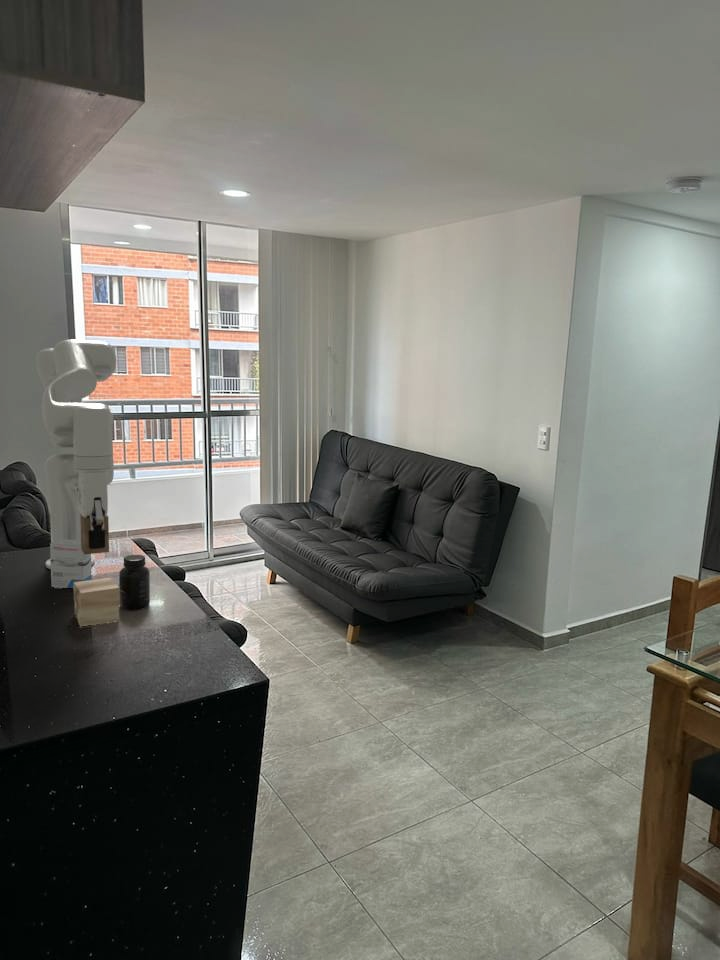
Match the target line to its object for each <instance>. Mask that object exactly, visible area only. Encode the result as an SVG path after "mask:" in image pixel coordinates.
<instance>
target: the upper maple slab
mask: <svg viewBox="0 0 720 960" xmlns="http://www.w3.org/2000/svg"><path fill="white" fill-rule="evenodd" d="M73 584H74V589H73V600H74V603H75V602H76V603H77V605H78V606H79V608H80V609H81V611H83V610H90V609H96V608H103V607H109V606H116V605H118V606H120V592H119V585H118V584H117V583H116V582H115V581H114V580H113V578H112V577H103V578H97V579H92V580H88V581H80V582H73Z"/></svg>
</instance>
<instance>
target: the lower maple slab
mask: <svg viewBox="0 0 720 960" xmlns="http://www.w3.org/2000/svg"><path fill="white" fill-rule="evenodd" d="M119 609H120V605H116V606H109V607H103V608H96V609H90V610H83V611H81V609H80V608H79V606H78V605H77V603H76V602H75V601H74V616H75V615H76V616H75V619H76V618H77V619H76V621H77V620H78V621H77V623H78V625H80V626H79V628H82V627H81V626H87V625H94V626H96V625H95V624H100V623H107V622H113V623H115V622H114V621H119V622H120V613H119V612H120V611H119ZM107 624H108V623H107ZM100 625H101V624H100ZM87 627H88V626H87Z"/></svg>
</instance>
